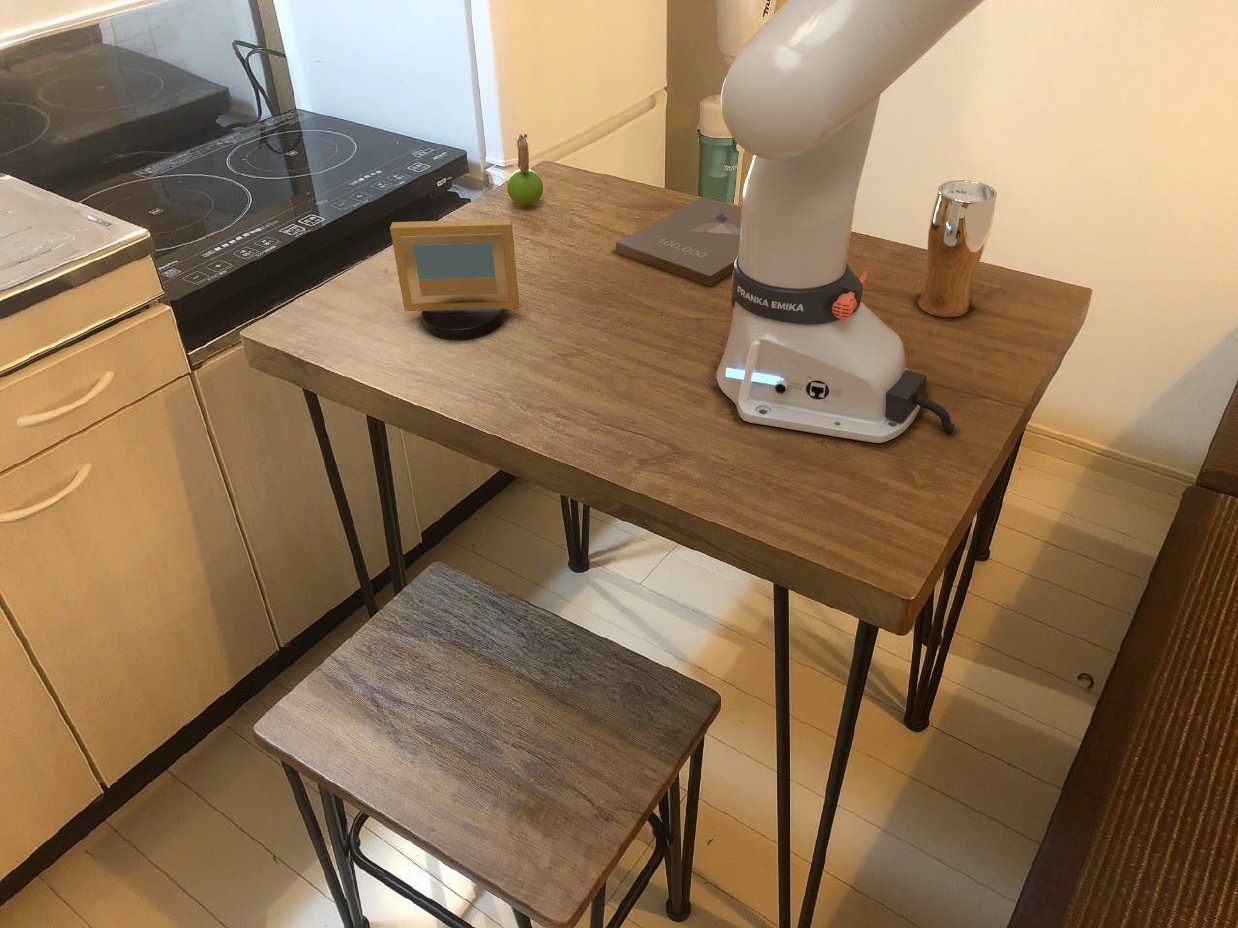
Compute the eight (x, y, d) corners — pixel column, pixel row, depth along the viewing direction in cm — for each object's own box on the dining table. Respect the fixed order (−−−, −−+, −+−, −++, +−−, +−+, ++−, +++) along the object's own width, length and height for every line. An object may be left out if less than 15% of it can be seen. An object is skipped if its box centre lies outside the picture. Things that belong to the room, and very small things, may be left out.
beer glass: (981, 303, 121) (1008, 188, 112) (957, 325, 117) (983, 208, 108) (929, 287, 125) (952, 174, 116) (904, 308, 121) (925, 193, 112)
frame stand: (519, 310, 122) (518, 300, 121) (473, 347, 115) (472, 336, 114) (455, 293, 126) (453, 283, 125) (407, 328, 119) (405, 317, 118)
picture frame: (519, 302, 120) (511, 218, 114) (518, 309, 119) (510, 225, 112) (406, 305, 120) (392, 222, 113) (404, 312, 119) (389, 228, 112)
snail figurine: (511, 216, 145) (504, 136, 138) (506, 199, 150) (499, 121, 143) (547, 212, 146) (542, 133, 138) (541, 195, 151) (536, 118, 143)
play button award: (615, 242, 134) (702, 197, 146) (616, 252, 135) (702, 206, 146) (710, 276, 125) (794, 225, 137) (709, 286, 126) (793, 235, 138)
